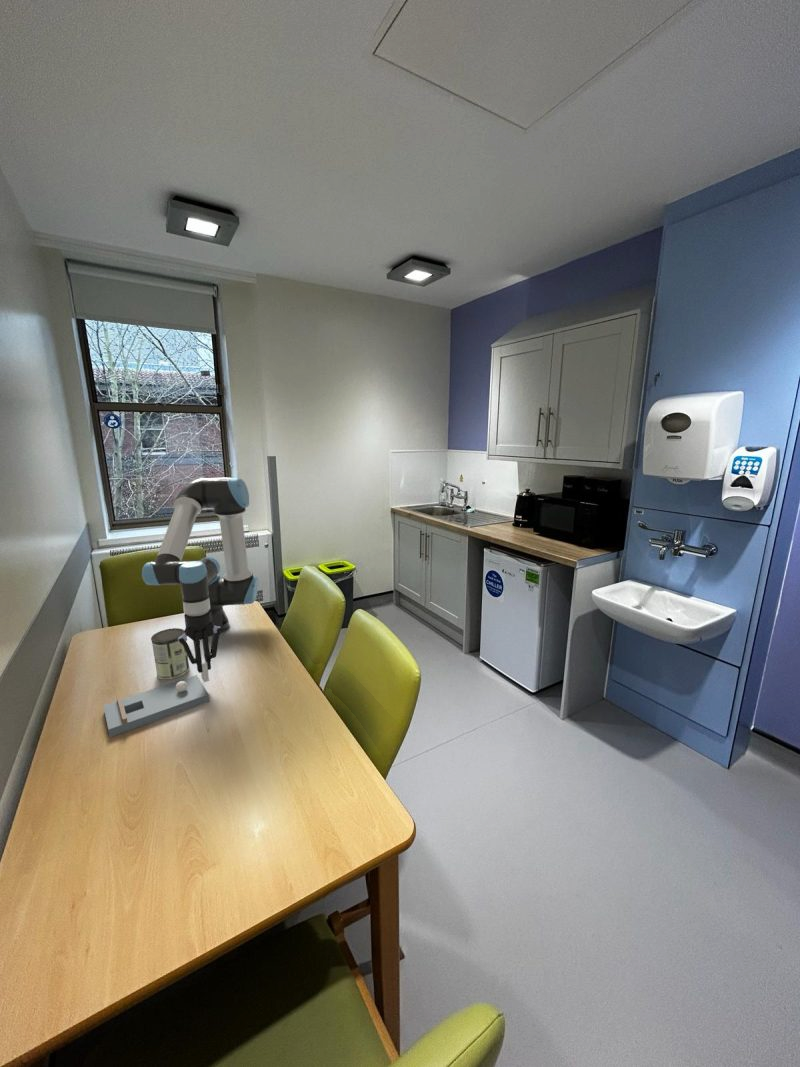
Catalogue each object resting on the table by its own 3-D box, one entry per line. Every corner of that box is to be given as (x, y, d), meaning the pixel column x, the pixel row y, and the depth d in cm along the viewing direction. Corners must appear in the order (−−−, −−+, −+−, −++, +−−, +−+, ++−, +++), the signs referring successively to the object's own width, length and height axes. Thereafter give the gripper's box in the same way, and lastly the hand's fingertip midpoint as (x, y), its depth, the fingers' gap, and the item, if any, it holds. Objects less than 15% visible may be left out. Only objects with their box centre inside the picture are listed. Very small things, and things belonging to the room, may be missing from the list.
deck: (197, 681, 144) (196, 670, 143) (209, 701, 133) (208, 689, 132) (104, 712, 128) (102, 700, 127) (109, 737, 117) (107, 724, 117)
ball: (186, 686, 137) (185, 677, 136) (188, 691, 134) (187, 682, 133) (175, 690, 135) (174, 681, 134) (177, 695, 132) (176, 685, 131)
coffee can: (168, 663, 155) (163, 627, 152) (195, 664, 154) (191, 628, 151) (149, 679, 145) (143, 641, 142) (178, 680, 144) (173, 642, 141)
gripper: (215, 602, 140) (222, 668, 145) (171, 613, 132) (180, 681, 137) (222, 610, 134) (229, 677, 139) (177, 621, 126) (186, 692, 131)
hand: (205, 679), depth 138 cm, fingers closed
